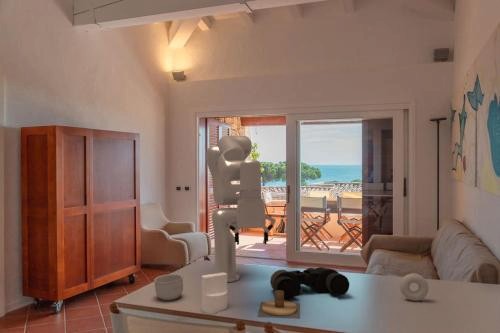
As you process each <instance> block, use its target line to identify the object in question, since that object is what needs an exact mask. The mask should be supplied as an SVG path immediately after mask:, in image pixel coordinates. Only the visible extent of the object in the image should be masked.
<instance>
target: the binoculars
mask: <svg viewBox="0 0 500 333" xmlns="http://www.w3.org/2000/svg"><path fill="white" fill-rule="evenodd" d="M302 285H304V286H307V287H311V288H312V289H314V290H315V291H316V292H317V293H318V294H321V295H323V294H333V295H335V296H339V297H340V296H344V295H346V294H347V292H348V291H349V290H350V281H349V278H348V277H347V276H345V274H342V273H339V272H338V271H337V270H335V269H333V268H328V267H322V266H320V267H317V268H314V267H309V268H306V269H303V270H302V271H301V270H289V271H288V270H286V269H278V270H276V271H274V272H273V273H272V275H271V277H270V287H271V288H272V290H273V291H274V292H275V291H277V290H282V291H284V300H285V301H290V300H292V299H294V297H297V296H298V295H299V294H300V293H301V290H302Z"/></svg>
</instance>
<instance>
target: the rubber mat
mask: <svg viewBox="0 0 500 333" xmlns="http://www.w3.org/2000/svg"><path fill="white" fill-rule="evenodd" d="M266 302H267V301H261V302H260V305H259V309H258V313H257V316H256V317H257V318H275V319H277V318H278V319H299V320H300V319H301V303H300V302H294V303H295V304H296V305H297V312H296V313H294V314H292V315H289V316H271V315H268V314H265V313H264V312H263V311H262V305H263V304H264V303H266Z"/></svg>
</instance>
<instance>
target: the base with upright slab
mask: <svg viewBox="0 0 500 333" xmlns="http://www.w3.org/2000/svg"><path fill="white" fill-rule="evenodd" d="M227 308H228V282H227V274H226V273H224V272H223V273H216V274H215V273H211V274H205V275H204V274H203V275H201V310H202V312H204V313H206V314H213V315H214V314H218V312H219V311H220V312H221V311H223V310H225V309H227Z"/></svg>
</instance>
